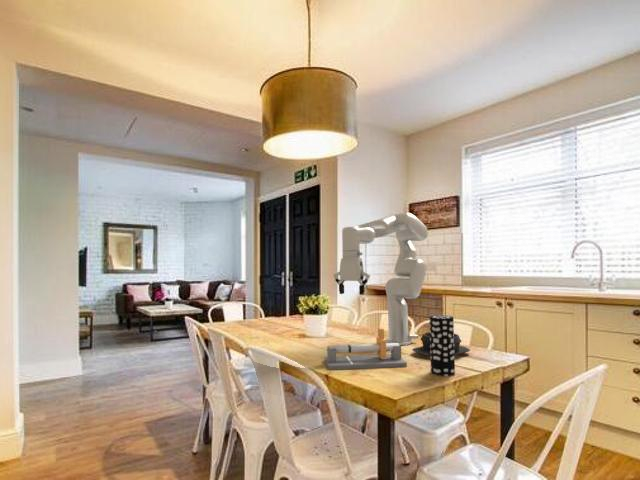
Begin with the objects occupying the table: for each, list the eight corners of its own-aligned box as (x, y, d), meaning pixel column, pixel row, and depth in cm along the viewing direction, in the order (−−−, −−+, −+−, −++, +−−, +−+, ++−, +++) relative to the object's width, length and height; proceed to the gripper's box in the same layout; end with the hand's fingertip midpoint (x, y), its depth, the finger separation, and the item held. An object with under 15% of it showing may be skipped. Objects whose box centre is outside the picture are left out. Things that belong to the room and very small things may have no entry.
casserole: (453, 347, 182) (452, 329, 182) (480, 357, 164) (479, 336, 165) (404, 351, 175) (404, 332, 175) (427, 362, 157) (426, 340, 158)
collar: (381, 354, 160) (381, 326, 161) (386, 358, 153) (385, 329, 154) (376, 354, 160) (376, 327, 161) (381, 358, 153) (380, 330, 154)
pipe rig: (395, 357, 164) (395, 339, 165) (406, 366, 150) (406, 346, 151) (324, 360, 161) (324, 341, 161) (329, 369, 147) (328, 349, 148)
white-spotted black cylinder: (428, 369, 146) (427, 315, 147) (451, 369, 146) (449, 315, 147) (434, 376, 138) (432, 318, 139) (458, 376, 137) (456, 318, 138)
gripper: (372, 254, 172) (373, 294, 171) (337, 255, 181) (338, 292, 180) (365, 254, 165) (366, 295, 164) (329, 255, 174) (330, 294, 173)
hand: (351, 294), depth 172 cm, fingers open, 9 cm apart
